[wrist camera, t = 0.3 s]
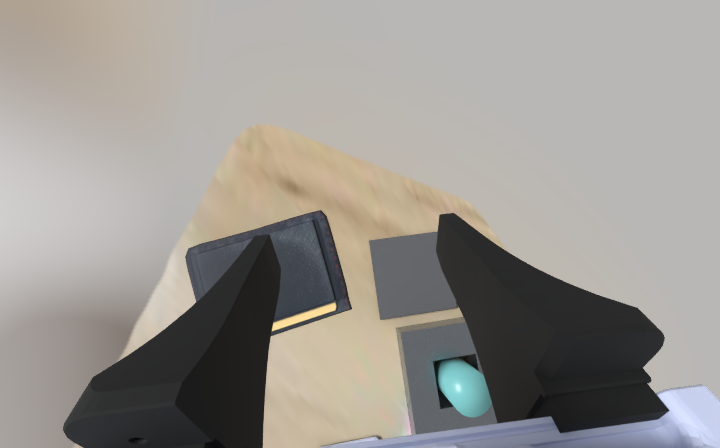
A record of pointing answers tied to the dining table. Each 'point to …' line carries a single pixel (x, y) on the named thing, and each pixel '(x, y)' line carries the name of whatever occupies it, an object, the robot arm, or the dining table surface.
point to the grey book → (283, 268)
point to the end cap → (462, 386)
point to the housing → (419, 376)
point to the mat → (409, 276)
